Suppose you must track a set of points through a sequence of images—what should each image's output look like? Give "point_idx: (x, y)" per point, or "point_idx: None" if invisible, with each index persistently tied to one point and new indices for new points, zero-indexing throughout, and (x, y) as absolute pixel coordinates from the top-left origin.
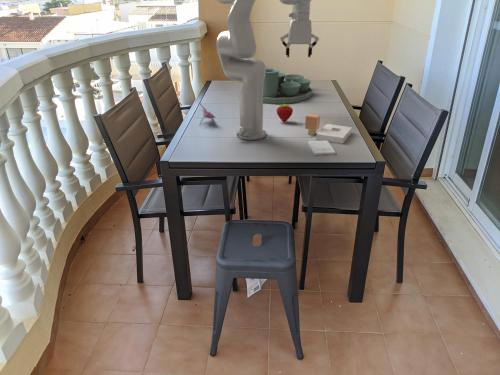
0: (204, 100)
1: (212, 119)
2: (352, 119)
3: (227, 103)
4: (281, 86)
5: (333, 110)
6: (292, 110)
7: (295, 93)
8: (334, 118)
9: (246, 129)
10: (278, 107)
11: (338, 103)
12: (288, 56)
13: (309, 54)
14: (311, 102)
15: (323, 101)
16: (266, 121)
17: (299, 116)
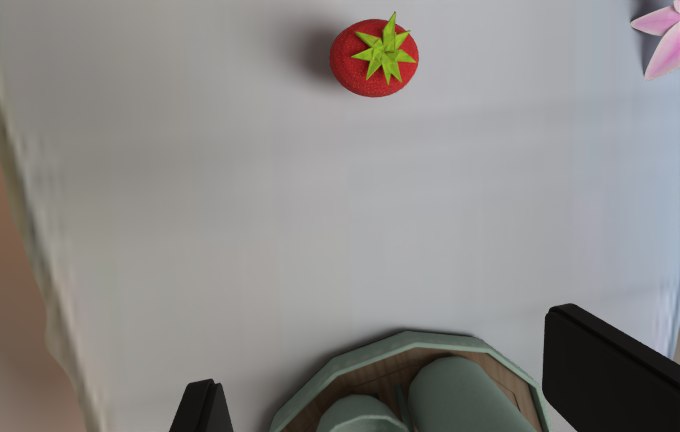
0: (664, 325)
1: (667, 16)
2: (11, 150)
3: (587, 304)
4: (406, 427)
5: (131, 285)
6: (333, 48)
7: (328, 410)
8: (114, 157)
9: None
10: (414, 51)
11: (115, 398)
12: (566, 307)
13: (195, 415)
14: (249, 386)
15: None
16: (437, 77)
17: (293, 169)
